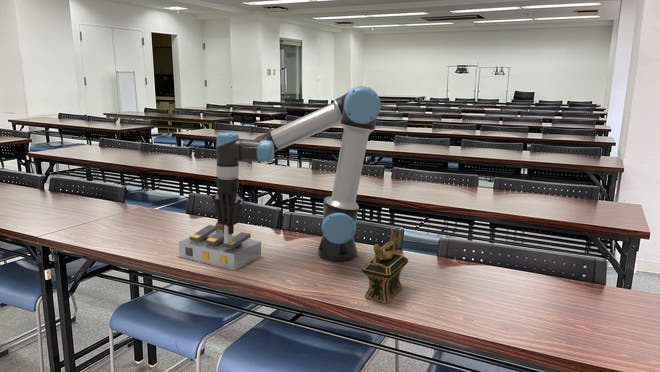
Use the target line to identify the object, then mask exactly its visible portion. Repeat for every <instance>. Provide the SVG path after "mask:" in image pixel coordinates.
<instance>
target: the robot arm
mask: <svg viewBox="0 0 660 372" xmlns="http://www.w3.org/2000/svg"><path fill="white" fill-rule="evenodd" d="M381 105H382V104H381V99H380V96H379V95H378V93H377V92H376V91H375V90H374V89H372V88H371V87H368V86H366V85H365V86H364V85H363V86H362V85H360V86H359V85H358V86H355V87H352V89H350V90H349V91H347V92H346V93H345V94H343V95H341V96H339V97H337V98H334V100H333V103H331V104H328V105H326V106H324V107H321V108H319V109H317V110H315V111H313V112H310V113H309V114H306V115H304V116H302V117H299V118H297V119H294V120H293V121H291V122H289V123H286V124H284V125H282V126H279V127H277V128H275V129H273V130H271V131H268V132H266V133H264V134H260V135H258V136H257V137H255V138H254V139H242V138H240V137H239V133H237V132H219V133H218V134H217V135H216V141H215V142H216V145H215V149H216V150H215V151H216V154H215V155H216V177H217V178H216V189H217V191H216V194H215V193H214V194H213V195H211V199H212V201H213V205H214V209H215V214H216V219H217V222H221V223H222V225H223V233H224V243H227V244H228V243H230V242H232V236H233V234H234V232H235V231H234V229H235V225H237V224H239V223H240V222H239V221H240V217H241V211H242V207H243V204H244V202H245V198H242V197H240V194H239V187H240V184H239V183H240V180H239V174H240V171H239V165H240V163H239V162H253V163H255V162H256V163H271V162H273V160H274V157H275V156H274V155H275V152H277V151H280V150H282V149H285V148H287V147H288V146H291V145H294V144H296V143H298V142H300V141H302V140H305V139H307V138H309V137H313V135H317V134H319V133H321V132H323V131H325V130H327V129H330V128H332V127H335V126H337V125H339V124H340V125H341V127H342V129H343V133H342V137H341V138H342V139H341V143H340V148H339V154H338V161H337V165H336V171H335V176H334V180H333V181H334V182H333V186H332V187H333V188H332V192H331V195H330V196H326V197H324V199H323V204H322V205H323V210H322V211H323V213H322V222H321V231H322V237H321V240H320V243H319V245H318V248H317V249H318V250H317V255H318V257H320V258H321V259H322V260H326V261H331V262H347V261H346V260H348V261H351V260H353V258H354V259H356V257H357V256H358V248H357V245H356V241H355V239H354V236H355V234H356V231H357V224H356V223H357V218H358V213H359V208H360V206H359V205H358V202H357V201H356V200H357V196H358V191H359V186H360V182H361V181H360V180H361V177H362V171H363V165H364V161H365V156H366V151H367V146H368V140H369V136H370V134H371V133H372V132H374V131H375V129H376V123H377V117H378V115H379V113H380V111H381Z"/></svg>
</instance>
